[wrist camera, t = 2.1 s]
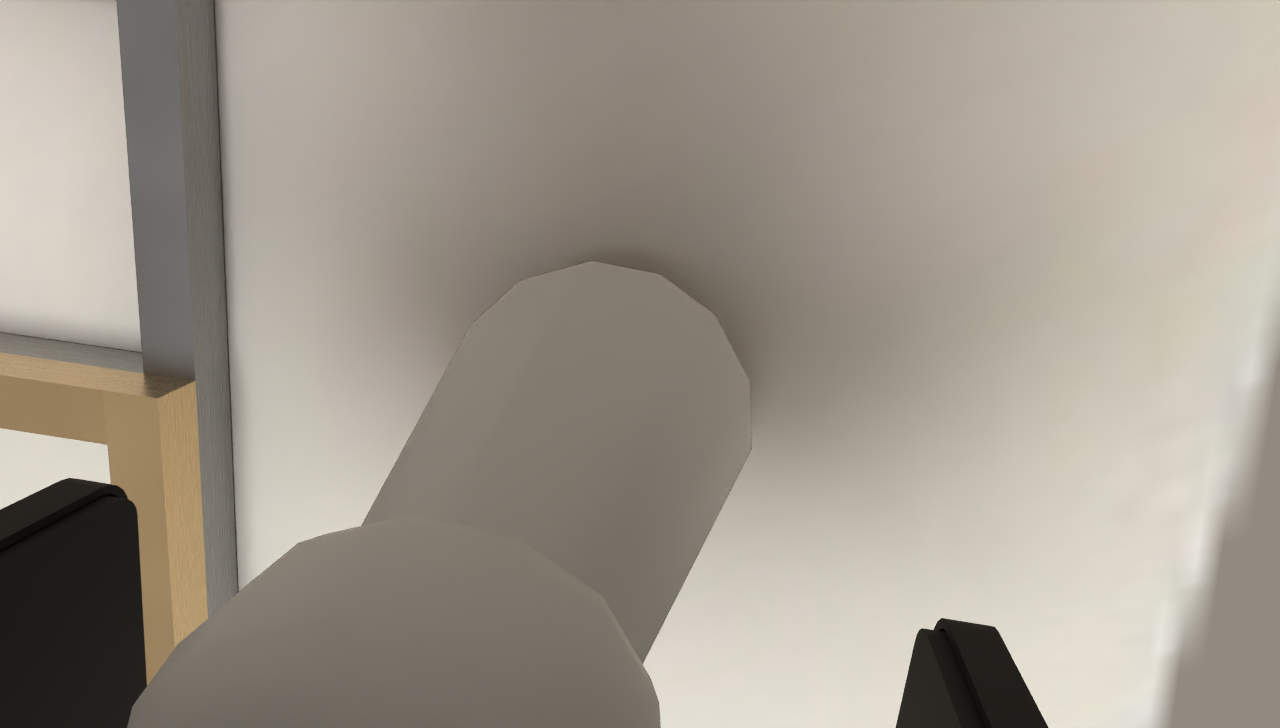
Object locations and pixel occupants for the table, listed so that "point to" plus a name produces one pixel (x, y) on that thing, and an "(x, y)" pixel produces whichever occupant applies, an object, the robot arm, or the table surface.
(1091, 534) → the table surface
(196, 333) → the grey rectangular frame
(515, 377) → the salt shaker
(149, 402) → the gold rectangular frame
